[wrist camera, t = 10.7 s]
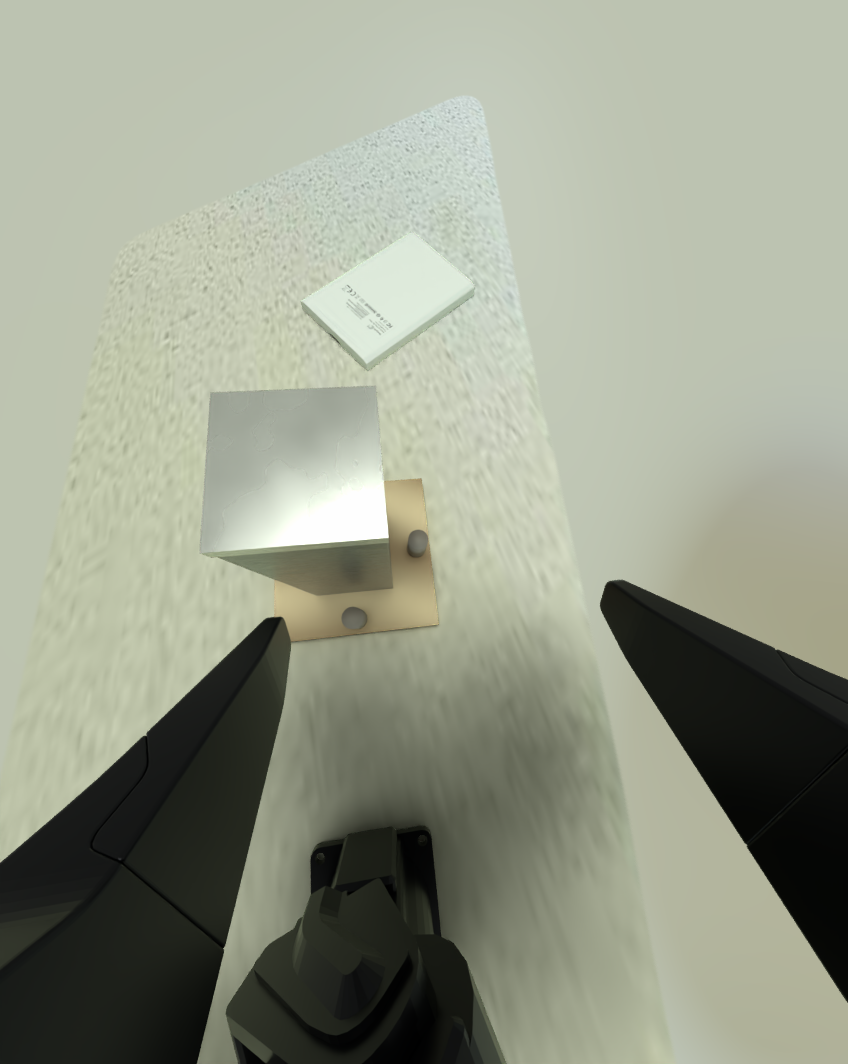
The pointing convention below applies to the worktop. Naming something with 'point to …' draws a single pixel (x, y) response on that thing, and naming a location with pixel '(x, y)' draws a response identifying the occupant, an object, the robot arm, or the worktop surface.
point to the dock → (374, 608)
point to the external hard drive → (388, 299)
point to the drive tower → (298, 488)
